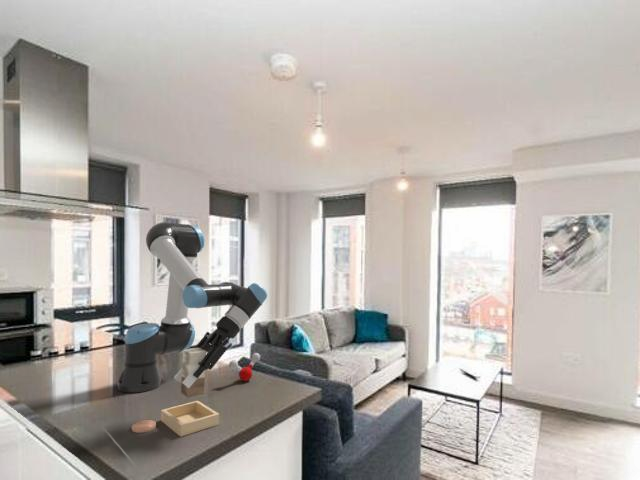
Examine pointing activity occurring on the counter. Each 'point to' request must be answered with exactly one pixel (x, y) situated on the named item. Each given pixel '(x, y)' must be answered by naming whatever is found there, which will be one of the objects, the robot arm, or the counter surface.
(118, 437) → the counter surface
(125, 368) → the robot arm
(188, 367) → the two-tone block
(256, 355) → the molecular model
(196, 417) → the beige open tray
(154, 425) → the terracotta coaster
